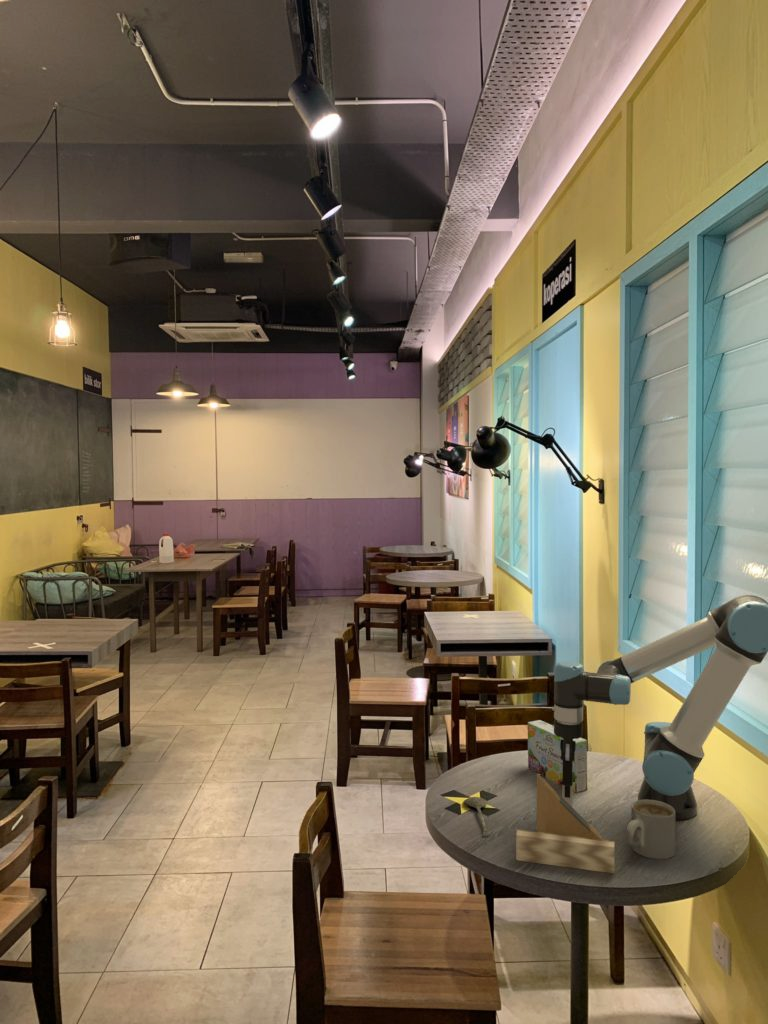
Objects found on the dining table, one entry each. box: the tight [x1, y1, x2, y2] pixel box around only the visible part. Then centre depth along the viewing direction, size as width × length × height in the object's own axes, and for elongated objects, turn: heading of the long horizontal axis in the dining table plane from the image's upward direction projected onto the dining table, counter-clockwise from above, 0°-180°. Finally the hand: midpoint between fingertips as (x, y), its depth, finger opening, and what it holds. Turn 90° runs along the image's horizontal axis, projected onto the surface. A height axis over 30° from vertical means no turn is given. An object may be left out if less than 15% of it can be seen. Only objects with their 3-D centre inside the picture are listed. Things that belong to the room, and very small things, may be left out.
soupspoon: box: [463, 796, 490, 837], centre depth 192 cm, size 22×3×7 cm
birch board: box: [515, 828, 616, 874], centre depth 167 cm, size 22×3×6 cm, turn 74°
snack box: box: [527, 719, 588, 794], centre depth 217 cm, size 21×6×15 cm, turn 28°
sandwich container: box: [536, 773, 604, 840], centre depth 180 cm, size 9×15×15 cm, turn 93°
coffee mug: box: [625, 799, 676, 860], centre depth 174 cm, size 13×10×10 cm
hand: (567, 807), depth 194 cm, fingers closed
